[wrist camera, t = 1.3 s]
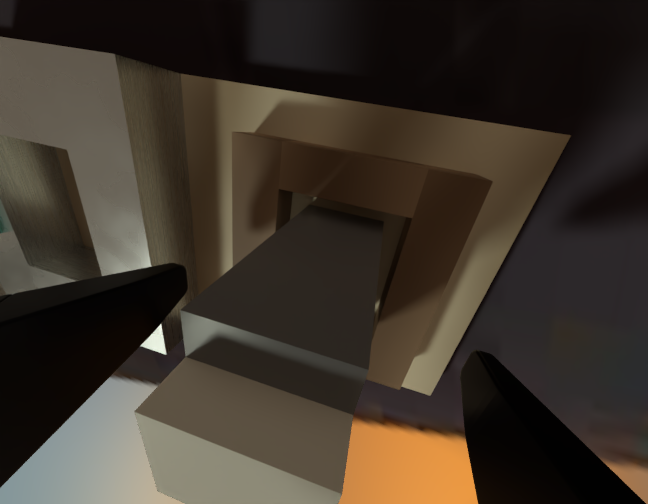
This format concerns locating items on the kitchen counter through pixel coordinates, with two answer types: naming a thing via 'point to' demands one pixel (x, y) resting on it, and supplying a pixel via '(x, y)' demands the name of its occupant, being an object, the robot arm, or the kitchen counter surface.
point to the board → (371, 138)
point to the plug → (270, 370)
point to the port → (92, 171)
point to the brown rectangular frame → (373, 193)
